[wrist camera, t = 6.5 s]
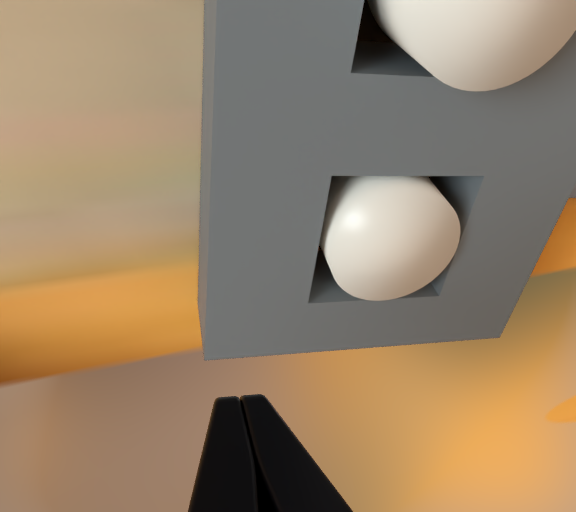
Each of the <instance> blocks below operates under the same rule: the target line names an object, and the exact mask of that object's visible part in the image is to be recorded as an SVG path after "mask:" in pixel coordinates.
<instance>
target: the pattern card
mask: <svg viewBox="0 0 576 512" xmlns="http://www.w3.org/2000/svg"><path fill="white" fill-rule="evenodd" d="M569 198H576V184H575V186H574V188H573V190H572V192H571V194H570V196H569Z"/></svg>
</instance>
